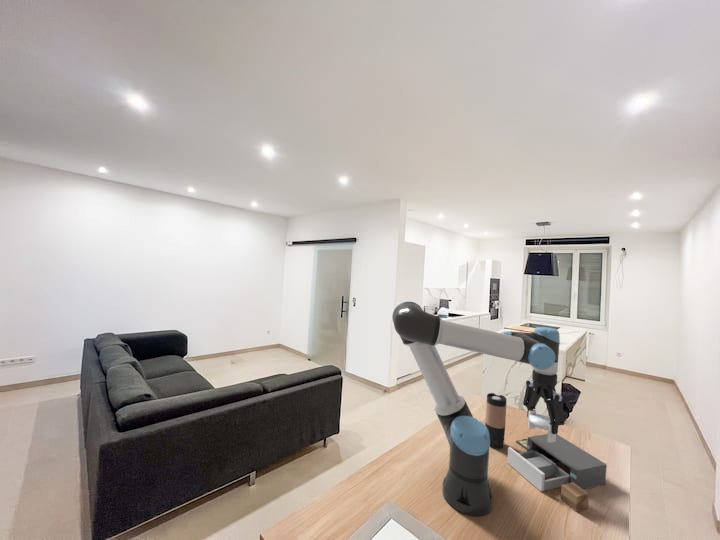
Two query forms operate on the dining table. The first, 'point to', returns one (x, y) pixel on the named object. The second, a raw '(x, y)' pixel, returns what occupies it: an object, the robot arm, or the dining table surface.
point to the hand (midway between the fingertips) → (541, 434)
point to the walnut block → (574, 496)
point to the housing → (571, 460)
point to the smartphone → (549, 456)
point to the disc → (539, 421)
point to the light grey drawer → (537, 469)
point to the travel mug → (496, 419)
